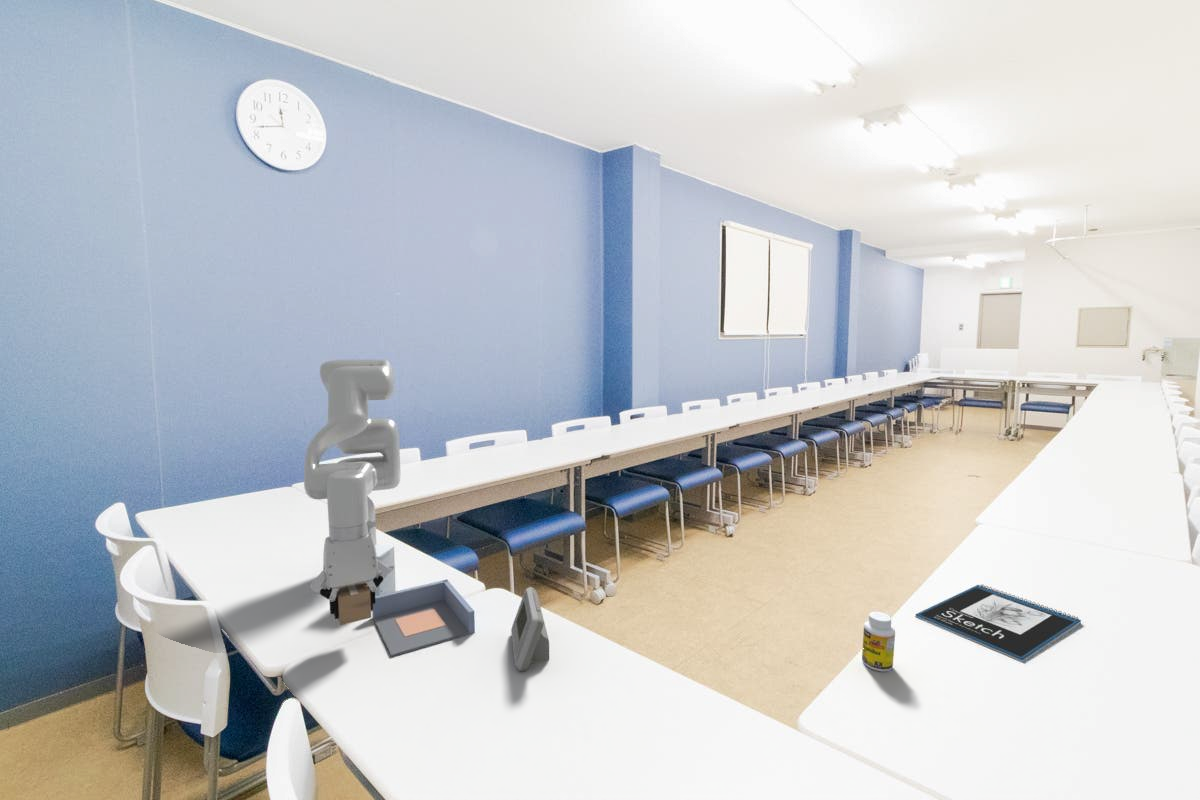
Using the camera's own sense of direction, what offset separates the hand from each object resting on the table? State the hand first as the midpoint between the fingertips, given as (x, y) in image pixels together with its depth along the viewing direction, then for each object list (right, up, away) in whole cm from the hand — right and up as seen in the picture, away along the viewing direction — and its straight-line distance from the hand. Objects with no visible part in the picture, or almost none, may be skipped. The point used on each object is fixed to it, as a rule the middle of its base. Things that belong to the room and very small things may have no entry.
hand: (353, 610), depth 118 cm
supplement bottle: (+108, -8, -7) cm, 108 cm away
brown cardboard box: (0, -1, 0) cm, 1 cm away
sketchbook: (+145, -7, +11) cm, 145 cm away
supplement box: (-4, -5, +21) cm, 22 cm away
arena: (+12, -6, +8) cm, 15 cm away
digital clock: (+37, -8, -2) cm, 38 cm away
